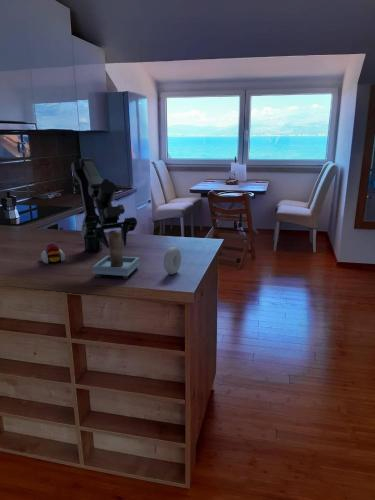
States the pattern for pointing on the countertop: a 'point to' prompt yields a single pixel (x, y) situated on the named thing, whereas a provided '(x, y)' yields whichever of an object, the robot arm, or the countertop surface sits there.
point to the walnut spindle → (116, 248)
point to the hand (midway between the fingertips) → (117, 246)
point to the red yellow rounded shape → (52, 254)
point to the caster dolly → (125, 270)
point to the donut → (172, 260)
